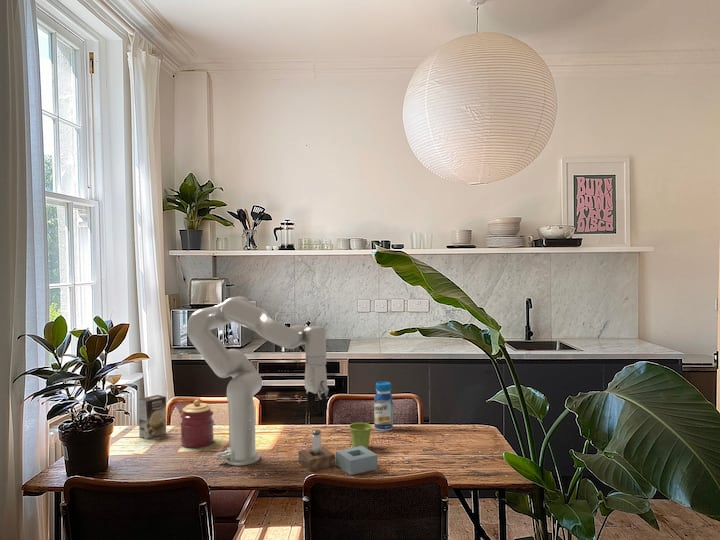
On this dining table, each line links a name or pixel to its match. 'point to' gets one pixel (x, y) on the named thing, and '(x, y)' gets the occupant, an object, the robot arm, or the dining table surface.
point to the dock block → (356, 460)
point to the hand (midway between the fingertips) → (316, 407)
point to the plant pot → (360, 434)
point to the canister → (197, 425)
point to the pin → (316, 442)
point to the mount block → (316, 459)
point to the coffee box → (152, 416)
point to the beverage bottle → (383, 407)
